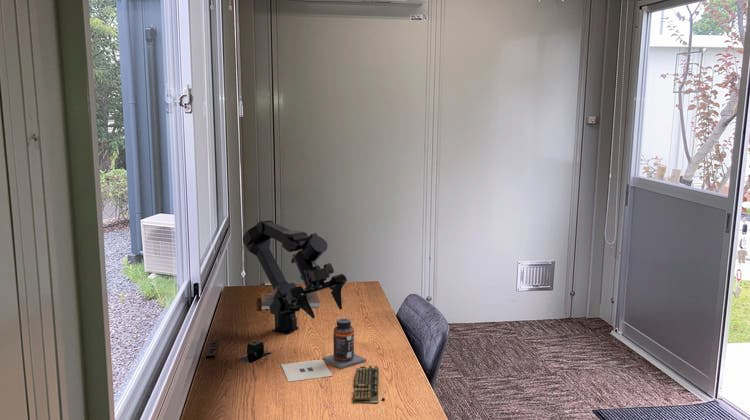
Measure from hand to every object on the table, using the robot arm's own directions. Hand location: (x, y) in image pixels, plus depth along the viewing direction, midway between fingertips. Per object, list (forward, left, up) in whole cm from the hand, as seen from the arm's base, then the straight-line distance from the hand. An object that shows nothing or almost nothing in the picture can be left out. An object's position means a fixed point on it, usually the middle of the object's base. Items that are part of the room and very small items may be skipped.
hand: (327, 313), depth 182 cm
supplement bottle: (+8, -5, -11) cm, 14 cm away
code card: (+2, -16, -11) cm, 20 cm away
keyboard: (+22, -16, -12) cm, 30 cm away
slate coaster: (+8, -5, -11) cm, 15 cm away
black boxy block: (-17, -13, -12) cm, 25 cm away
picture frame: (-38, +36, -12) cm, 54 cm away
